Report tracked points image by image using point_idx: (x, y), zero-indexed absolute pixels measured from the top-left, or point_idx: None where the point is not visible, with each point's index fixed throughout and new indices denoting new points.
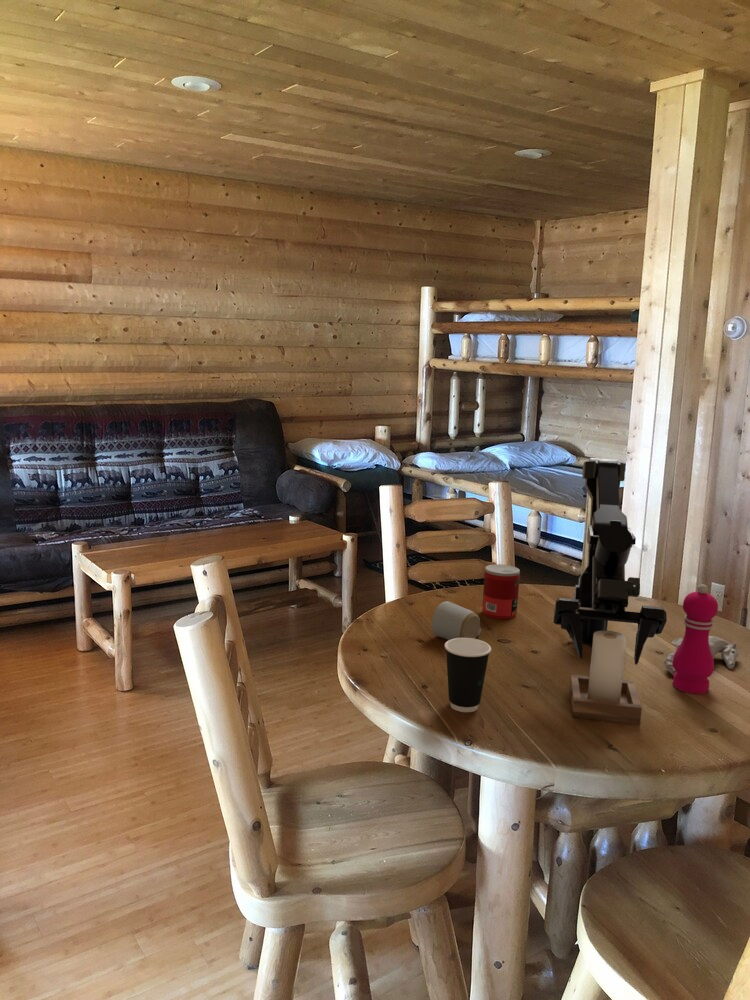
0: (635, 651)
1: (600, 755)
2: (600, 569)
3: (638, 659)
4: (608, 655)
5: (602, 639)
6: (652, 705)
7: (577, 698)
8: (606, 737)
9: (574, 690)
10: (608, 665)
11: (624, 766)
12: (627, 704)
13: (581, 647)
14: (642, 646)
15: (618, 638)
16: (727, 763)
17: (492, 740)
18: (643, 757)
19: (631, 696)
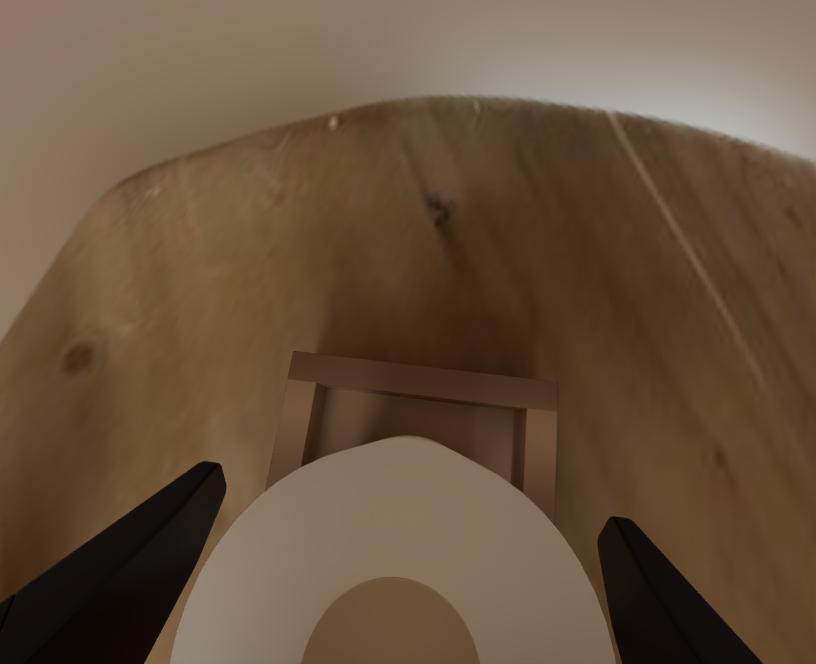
0: (156, 590)
1: (479, 168)
2: None
3: (187, 474)
4: (429, 443)
5: (515, 523)
6: (207, 538)
7: (541, 403)
8: (443, 266)
9: (547, 488)
10: (420, 439)
11: (426, 127)
12: (341, 375)
13: (662, 581)
14: (59, 564)
15: (294, 598)
16: (145, 174)
17: (783, 204)
18: (363, 173)
19: (300, 460)
